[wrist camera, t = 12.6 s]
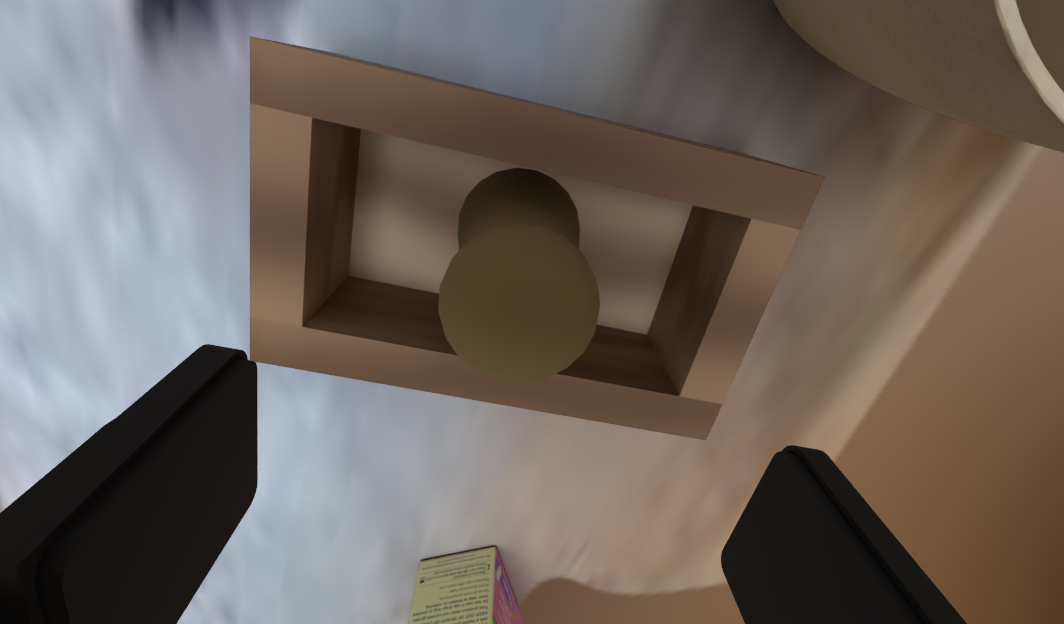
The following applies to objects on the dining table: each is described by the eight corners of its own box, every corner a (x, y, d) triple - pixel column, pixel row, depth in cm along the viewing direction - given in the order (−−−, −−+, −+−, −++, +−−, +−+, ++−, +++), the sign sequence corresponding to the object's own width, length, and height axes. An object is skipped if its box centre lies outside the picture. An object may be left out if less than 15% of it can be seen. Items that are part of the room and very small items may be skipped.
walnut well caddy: (327, 51, 22) (250, 36, 16) (744, 153, 24) (824, 177, 18) (313, 296, 27) (249, 360, 21) (664, 363, 29) (705, 440, 23)
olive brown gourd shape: (485, 303, 26) (464, 435, 16) (437, 193, 24) (379, 269, 14) (595, 265, 26) (644, 379, 16) (557, 148, 23) (587, 194, 13)
